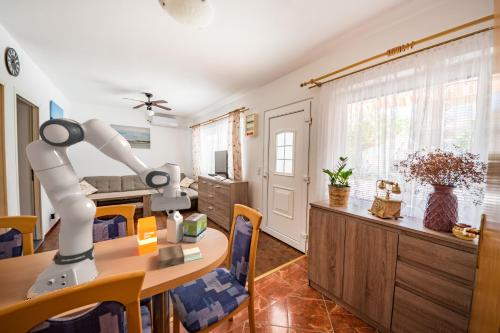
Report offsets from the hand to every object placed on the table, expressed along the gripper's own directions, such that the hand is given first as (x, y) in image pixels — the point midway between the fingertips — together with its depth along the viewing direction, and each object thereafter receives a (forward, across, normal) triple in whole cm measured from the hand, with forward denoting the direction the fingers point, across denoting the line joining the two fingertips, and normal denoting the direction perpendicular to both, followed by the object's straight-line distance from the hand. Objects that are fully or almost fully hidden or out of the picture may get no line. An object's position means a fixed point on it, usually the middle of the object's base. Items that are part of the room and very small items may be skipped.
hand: (171, 217), depth 105 cm
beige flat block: (+22, +11, -3) cm, 24 cm away
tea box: (+22, +17, +19) cm, 34 cm away
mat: (+22, +11, -3) cm, 25 cm away
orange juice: (+23, -12, +13) cm, 29 cm away
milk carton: (+22, +4, +20) cm, 30 cm away
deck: (+22, 0, -3) cm, 23 cm away
